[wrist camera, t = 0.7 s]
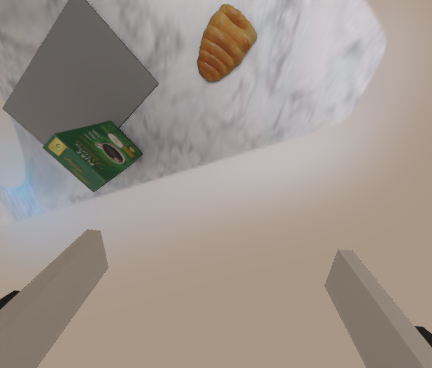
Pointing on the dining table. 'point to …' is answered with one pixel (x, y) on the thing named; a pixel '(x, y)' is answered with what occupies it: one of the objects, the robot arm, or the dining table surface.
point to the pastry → (224, 43)
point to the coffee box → (93, 152)
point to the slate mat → (79, 77)
